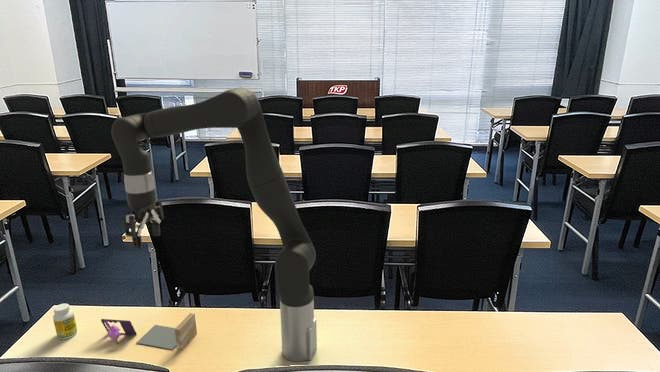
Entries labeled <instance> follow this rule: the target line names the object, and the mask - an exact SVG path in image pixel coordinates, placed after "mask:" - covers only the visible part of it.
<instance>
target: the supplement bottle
mask: <svg viewBox="0 0 660 372" xmlns="http://www.w3.org/2000/svg"><path fill="white" fill-rule="evenodd" d="M53 312H54V314H53V316H52V318H53V325H54V329H55V333H56V336H57V339H59V340H68V339H70V338H73V337H75V336H76V335H77V333H78V329H77V328H78V327H77V323H76V318H75V314H74V310H72V309H71V308H70V304H69V303H60V304H58V305H56V306H55V307H54V308H53Z"/></svg>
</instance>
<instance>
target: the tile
mask: <svg viewBox="0 0 660 372" xmlns="http://www.w3.org/2000/svg"><path fill="white" fill-rule="evenodd" d="M174 328H175V336H176V343H177V346H176V348H177V351H182V352H183V351H184V349H185V348H186V347H187V346H188V345H189V344H190V342H191V341H192V340H193V339H194V338H195V337H196V335H198V332H197V330H198V329H197V322H196V314H195V313H191V312H189V313H188V315H187V316H186V317H184V319H183V320H182V321H181V322H180V323H179V324H178V325H177V326H176V327H174Z"/></svg>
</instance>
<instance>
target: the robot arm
mask: <svg viewBox="0 0 660 372" xmlns="http://www.w3.org/2000/svg"><path fill="white" fill-rule="evenodd" d="M213 128H214V129H215V128H216V129H218V128H219V129H220V128H221V129H222V128H223V129H225V128H227V129H229V128H230V129H232V128H233V129H237V130H238V133H239V136H240V138H241V141H242V143H243V146H244V152H245V170H246V171H245V172H246V179H247V183H248V185H249V189H250V191H251V194H252V196H253V199H254V200H255V202H256V204H257V206H258V207H259V209H260V210H261V211H262V212H263V213H264V214H265V215H266V217H268V218H269V220H271V222H272V223H273V224H274V226H275V227H276V230H277V232H278V234H279V237H280V241H281V243H282V247H283V248H281V250H280V251H279V253H277V255H276V257H275V261H274V273H275V274H274V275H275V286H276V290H277V293H278V295H279V308H280V310H279V312H280V314H279V315H280V332H281V333H280V335H281V336H280V337H281V351H282V352H281V353H282V356H283V357H284V358H285V359H286V360H288V361H292V362H303V361H312V359H313V356H314V355H315V352H316V350H317V347H318V344H317V343H318V342H317V341H318V338H317V337H318V336H317V334H318V332H317V318H315V308H314V307H315V303H314V302H315V301H314V300H315V299H314V296H315V295H314V293H315V292H314V288H313V285H311V284H310V270H311V269H312V267H313V266H314V264H315V262H316V257H317V255H316V250H315V249H316V248H315V247H314V245H313V242H312V240H311V237H310V236H309V234H308V232H307V230H306V228H305V227H304V224H303V223H302V219H301V217H300V215H299V212H298V210H297V207H296V204H295V202H294V199H293V196H292V193H291V190H290V187H289V185H288V182H287V179H286V177H285V174H284V171H283V169H282V167H281V164H280V162H279V159H278V156H277V153H276V151H275V148H274V146H273V144H272V142H271V141H272V140H271V139H270V135H269V133H268V129H267V125H266V121H265V118H264V113H263V110H262V106H261V103H260V100H259V99H258V97H257V95H256V94H255V92H253V91H252V90H251V89H249V88H248V87H236V88H231V89H226V90H224V91H223V92H221V93H219V94H216V95H214V96H211V97H210V98H207V99H205V100H203V101H200V102H196V103H192V104H188V105H187V104H183V105H176V106H175V105H174V106H170V107H164V108H159V109H156V110H152V111H150V112H143V113H142V112H141V113H136V114H132V115H131V114H130V115H128V116H127V115H126V116H123V117H119V118H117V119H115V120H114V121H113V123H112V125H111V131H110V132H111V133H110V134H111V138H112V140H113V143H114V145H115V148H116V150H117V152H118V154H119V156H120V158H121V161H122V167H123V175H124V178H123V180H124V188H125V189H124V190H125V194H126V195H125V196H126V202H127V206H128V207H129V208H130V209H131V213H130V214H125V215H123V225H124V234H125V236H126V237H131V238H132V239H131V240H132V246H133V248H135V249H142V248H143V241H142V236H141V234H142V230H143V229H144V228H145V226H146V224H147V223H148V222H150V223H151V224H150V225H151V226H150V227H151V232H152V236H153V237H159V236H161V227H160V226H161V224H160V223H161V222H162V220H164V219H165V215H164V208H163V204H162V200H159V199H158V200H157V194H156V193H157V192H156V187H155V179H154V175H153V172H152V171H153V170H152V164H151V158H150V154H149V152H148V151H147V150H144V149H140V147H139V145H138V142H140V141H145V140H147V139H152V138H163V137H168V136H169V137H170V136H174V135H175V136H176V135H179V134H184V133H187V132H191V131H197V130H201V129H203V130H204V129H213ZM136 229H137V230H136Z"/></svg>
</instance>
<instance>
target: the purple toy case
mask: <svg viewBox="0 0 660 372" xmlns="http://www.w3.org/2000/svg"><path fill="white" fill-rule="evenodd" d="M100 322H101V323H102V325H103V327H104V328H105V331H106V332H107V336H108V337H109V338H110V339H111V340H115V344H118V343H119V342H118V341H119V340H118V339H119V338H120V337H121V336H122V335H125V336H126V335H128V336H137V331H136V330H135V328H134V326H133V324H132V322H131V320H124V319H123V320H121V319H111V318H110V319H108V318H101V319H100ZM110 323H114V324H117V323H120V326H121V328H122V330H123V332H120V331H121V328H119V326H117V325H114V324H113V325H110Z"/></svg>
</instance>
